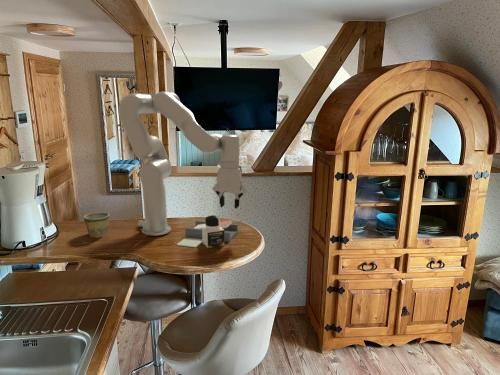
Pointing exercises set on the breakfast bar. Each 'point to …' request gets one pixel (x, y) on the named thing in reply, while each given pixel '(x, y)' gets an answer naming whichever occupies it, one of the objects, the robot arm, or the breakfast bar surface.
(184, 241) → the sage mat
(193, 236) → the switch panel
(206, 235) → the medicine bottle
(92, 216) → the ceramic cup
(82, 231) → the breakfast bar surface
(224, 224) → the rocker
